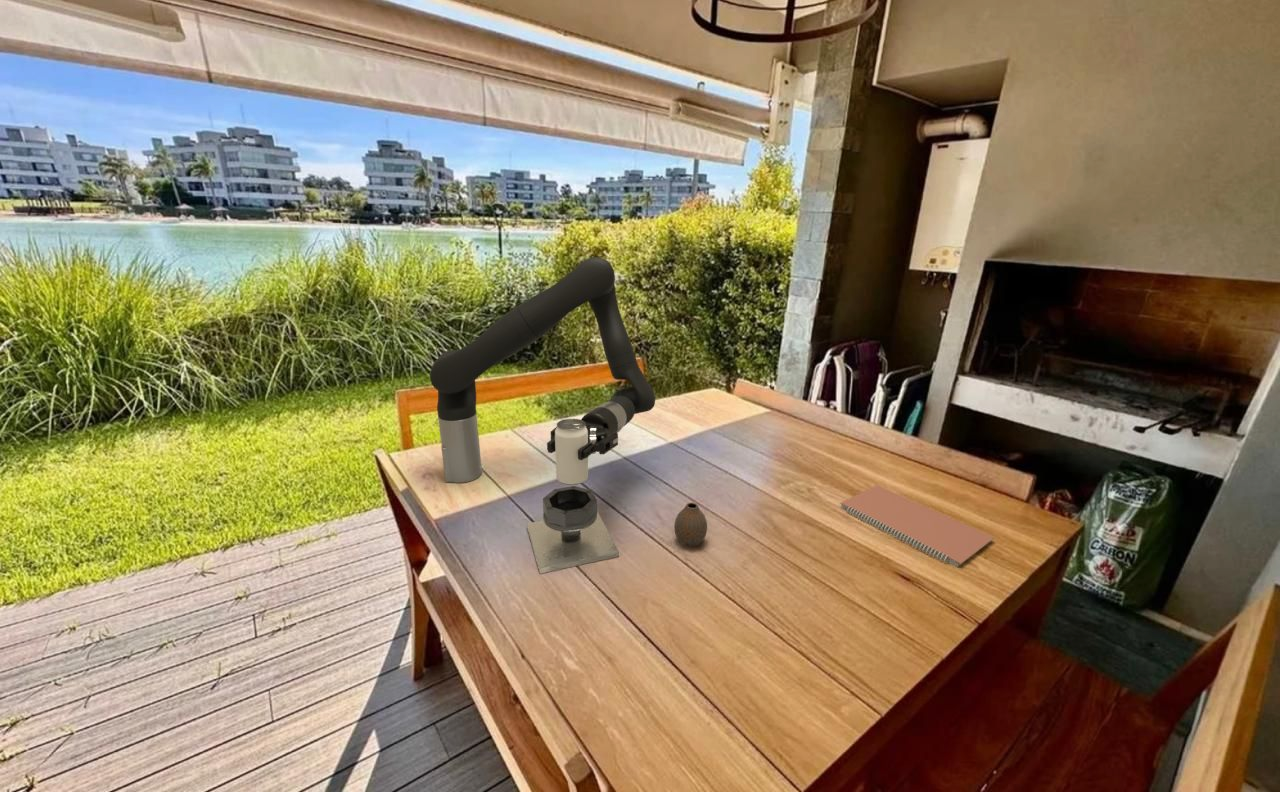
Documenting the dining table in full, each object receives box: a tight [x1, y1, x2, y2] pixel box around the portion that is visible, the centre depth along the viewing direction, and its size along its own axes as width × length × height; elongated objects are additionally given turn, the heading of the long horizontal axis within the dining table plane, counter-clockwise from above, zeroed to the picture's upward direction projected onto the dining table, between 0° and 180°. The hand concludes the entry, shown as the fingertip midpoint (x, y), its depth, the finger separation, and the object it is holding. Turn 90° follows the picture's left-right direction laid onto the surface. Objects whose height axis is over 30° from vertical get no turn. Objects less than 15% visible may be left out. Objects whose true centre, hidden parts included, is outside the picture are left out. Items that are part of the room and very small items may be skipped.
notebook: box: [839, 484, 995, 568], centre depth 114 cm, size 27×17×2 cm, turn 35°
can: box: [554, 418, 589, 486], centre depth 100 cm, size 6×6×12 cm
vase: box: [673, 502, 708, 547], centre depth 105 cm, size 7×7×9 cm
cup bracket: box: [526, 485, 620, 575], centre depth 104 cm, size 16×16×10 cm
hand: (564, 451), depth 97 cm, fingers closed on can, 6 cm apart
